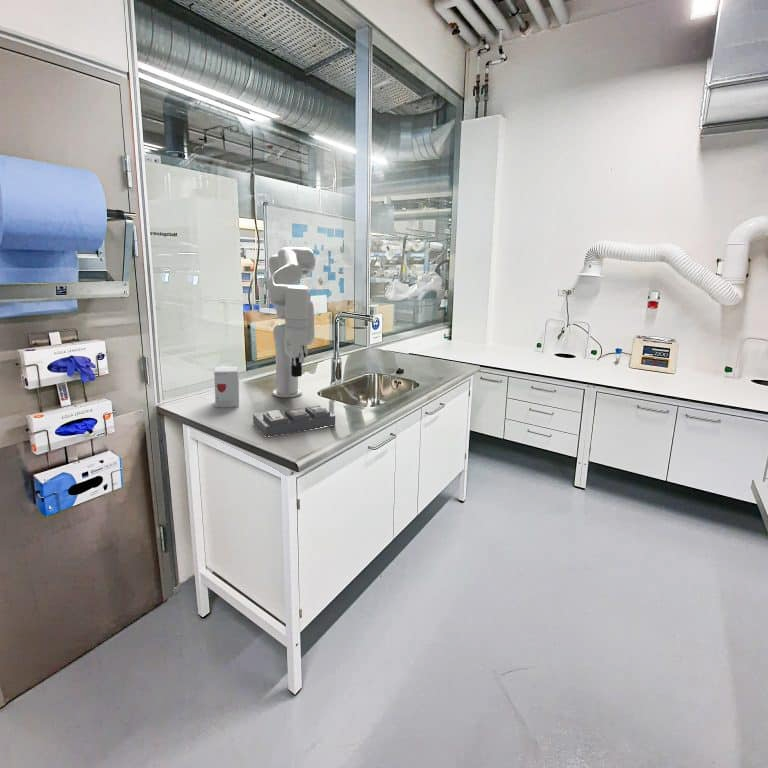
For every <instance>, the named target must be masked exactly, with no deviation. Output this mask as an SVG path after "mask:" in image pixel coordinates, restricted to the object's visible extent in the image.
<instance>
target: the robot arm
mask: <svg viewBox="0 0 768 768" xmlns="http://www.w3.org/2000/svg"><path fill="white" fill-rule="evenodd" d="M315 266H316V256H315V253H314V251H313V250H312V249H310V248H308V247H295V246H294V247H292V246H288V247H287V246H286V247H283V248H281V249H279V251H278V252H277V254H274V255H271V256H270V257H269V259H268V267H269V273H270V277H269V279H268V283H267V284H268V285H267V287H268V289H267V290H268V298H269V302H270V303H271V304H272V305H273V306H275V311H276V316H277V318H278V319H279V320H284V322H283V323H277V324H276V325H275V326H274V327H273V331H272V332H273V333H272V334H273V336H272V337H273V341H274V347H275V351H274V352H275V380H276V381H275V384H276V385H275V389H273V391H272V395H273V396H275V397H278V398H288V399H289V398H295V397H299V396H301V395H302V390H301V389H300V388H299V377H302V375H303V372H302V371H303V369H302V368H303V367H302V366H303V363H304V362H305V359H306V358H307V357H308V346H311V345H313V344H314V342H315V308H314V304H313V301H312V300H311V290H310V289H309V288H308V286H306V285H304V284H303V285H302V284H297V283H299V282H301V279H302V277H309V276H311V274H312V273H313V271H314V269H315Z"/></svg>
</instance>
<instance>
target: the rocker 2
mask: <svg viewBox="0 0 768 768" xmlns="http://www.w3.org/2000/svg"><path fill="white" fill-rule="evenodd" d="M309 409H310V410H311V411H313V412H314V413H318V412H325V411H326V410H327V408H326V407H324V406H322V407H313V408H309Z"/></svg>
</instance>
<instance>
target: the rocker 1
mask: <svg viewBox="0 0 768 768" xmlns="http://www.w3.org/2000/svg"><path fill="white" fill-rule="evenodd" d="M279 410H280V409H275V410H274V409H273V410H267V411H266V412H267V415H268V416H269V418H271V419H272V420H277V419H284V417H283V415H282V414H281V413H280V411H279Z"/></svg>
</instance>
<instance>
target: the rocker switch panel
mask: <svg viewBox="0 0 768 768" xmlns="http://www.w3.org/2000/svg"><path fill="white" fill-rule="evenodd" d="M313 407H323V406H322V405H320V404H316V405H314V404H313V405H309V406H302V407H301V406H300V407H295V408H288V409H278V410H279V411H280V413H281V414H282V415H283V417H284V419H277V420H272V419H271V418H269V416H268V415H267V411H266V412H259V413H258V412H257V413H253V414H252V422H253V424H254V425H255V426H256V427H257V428H258V429H259V430H260V431H261V432H262V433H263V434H264V435H265V436H266V437H268V436H274V437H276V436H275V435H279V436H282V435H281V434H285V435H288V434H287V433H291V434H294V433H293V432H297V433H299V432H298V431H303V432H305V431H304V430H309V431H311V430H310V429H314V430H316V429H315V428H320V427H324V426H330V425H335V426H336V415H335V414H333V413H332V412H330V411H329V410H328V409H326V411H325V412H318V413H314V412H313V411H311V410H310V409H309V408H313ZM292 410H303V411H305V412H306V414H305V415H299V416H293V415H292V414H291V413H289V411H292ZM254 425H253V426H254ZM255 426H254V427H255ZM256 427H255V428H256ZM257 428H256V429H257ZM258 429H257V430H258ZM320 429H321V428H320ZM259 430H258V431H259ZM260 431H259V432H260ZM261 432H260V433H261ZM262 433H261V434H262ZM263 434H262V435H263ZM264 435H263V436H264ZM265 436H264V437H265ZM266 437H265V438H266ZM268 438H269V437H268Z"/></svg>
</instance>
